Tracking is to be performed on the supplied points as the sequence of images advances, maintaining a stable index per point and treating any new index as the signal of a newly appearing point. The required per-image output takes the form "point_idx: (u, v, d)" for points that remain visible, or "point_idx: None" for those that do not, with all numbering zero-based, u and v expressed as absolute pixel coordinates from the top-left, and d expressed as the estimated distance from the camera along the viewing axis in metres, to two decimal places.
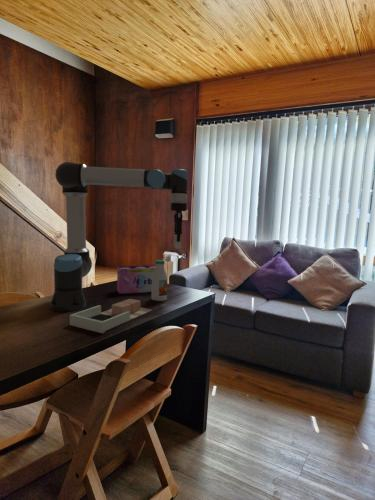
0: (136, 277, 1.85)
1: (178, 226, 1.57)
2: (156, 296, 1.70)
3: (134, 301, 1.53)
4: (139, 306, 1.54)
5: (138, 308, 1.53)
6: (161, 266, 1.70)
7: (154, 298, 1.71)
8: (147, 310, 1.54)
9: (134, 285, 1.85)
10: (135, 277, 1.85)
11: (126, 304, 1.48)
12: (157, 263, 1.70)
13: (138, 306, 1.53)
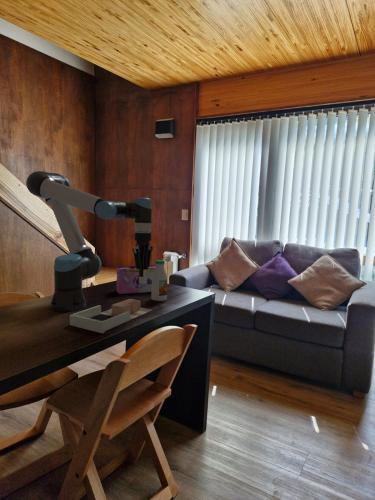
0: (136, 277, 1.85)
1: None
2: (156, 296, 1.70)
3: (134, 301, 1.53)
4: (139, 306, 1.54)
5: (138, 308, 1.53)
6: (161, 266, 1.70)
7: (154, 298, 1.71)
8: (147, 310, 1.54)
9: (134, 285, 1.85)
10: (135, 278, 1.85)
11: (126, 304, 1.48)
12: (157, 263, 1.70)
13: (138, 306, 1.53)
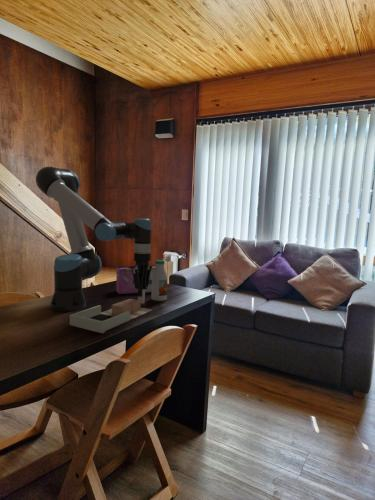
0: None
1: None
2: (156, 296, 1.70)
3: (134, 301, 1.53)
4: (139, 306, 1.54)
5: (138, 308, 1.53)
6: (161, 266, 1.70)
7: (154, 298, 1.71)
8: (147, 310, 1.54)
9: (133, 285, 1.85)
10: None
11: (126, 304, 1.48)
12: (157, 263, 1.70)
13: (138, 306, 1.53)
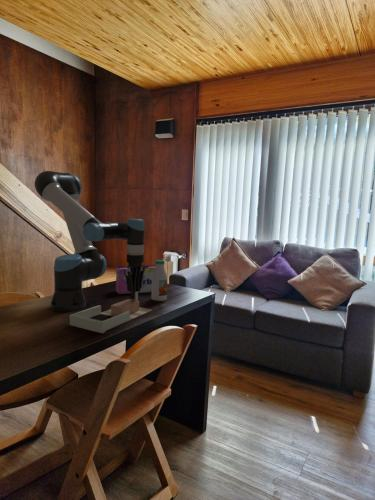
0: None
1: None
2: (156, 296, 1.70)
3: (133, 302, 1.52)
4: (138, 307, 1.53)
5: (137, 309, 1.53)
6: (161, 266, 1.70)
7: (154, 298, 1.71)
8: (147, 310, 1.54)
9: None
10: None
11: (125, 304, 1.47)
12: (157, 263, 1.70)
13: (137, 307, 1.52)
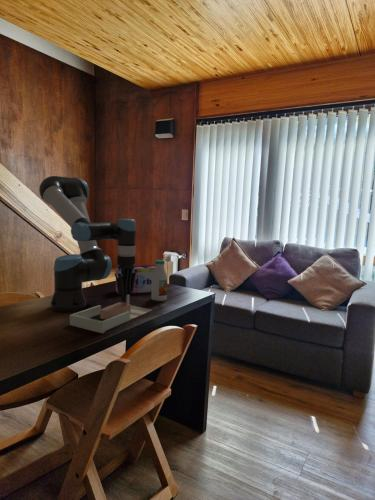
0: (135, 277, 1.85)
1: None
2: (156, 296, 1.70)
3: (124, 305, 1.46)
4: (129, 310, 1.47)
5: None
6: (161, 266, 1.70)
7: (154, 298, 1.71)
8: (147, 310, 1.54)
9: None
10: None
11: (115, 308, 1.41)
12: (157, 263, 1.70)
13: (128, 310, 1.47)
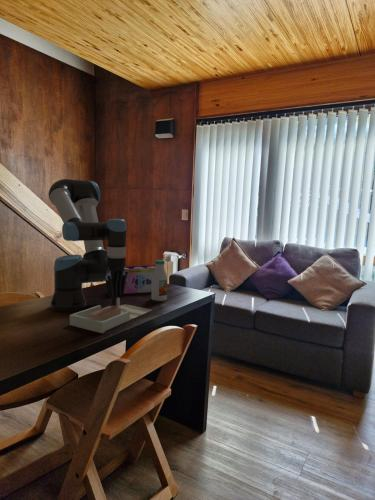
0: (135, 277, 1.84)
1: None
2: (156, 296, 1.70)
3: (113, 309, 1.40)
4: None
5: None
6: (161, 266, 1.70)
7: (154, 298, 1.71)
8: (147, 310, 1.54)
9: (133, 286, 1.85)
10: (133, 278, 1.84)
11: (105, 312, 1.36)
12: (157, 263, 1.70)
13: (118, 314, 1.41)
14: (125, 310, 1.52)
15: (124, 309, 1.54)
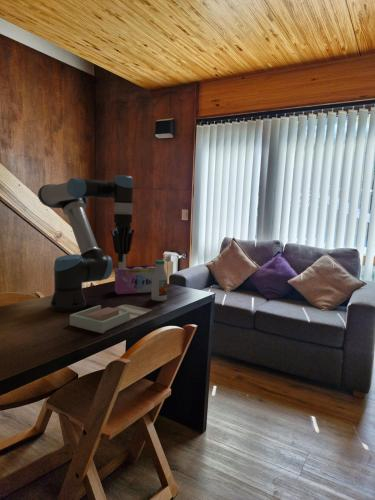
0: (134, 277, 1.84)
1: None
2: (156, 296, 1.70)
3: (112, 310, 1.39)
4: None
5: None
6: (161, 266, 1.70)
7: (154, 298, 1.71)
8: (147, 310, 1.54)
9: (132, 286, 1.84)
10: (133, 278, 1.84)
11: (103, 313, 1.35)
12: (157, 263, 1.70)
13: (116, 315, 1.40)
14: (125, 310, 1.52)
15: (124, 309, 1.54)
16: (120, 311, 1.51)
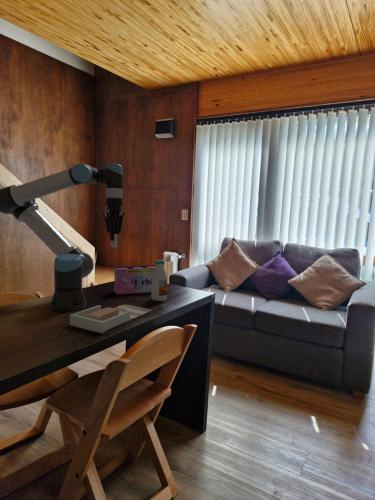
0: (134, 277, 1.84)
1: None
2: (156, 296, 1.70)
3: (112, 310, 1.39)
4: None
5: None
6: (161, 266, 1.70)
7: (154, 298, 1.71)
8: (147, 310, 1.54)
9: (132, 286, 1.84)
10: (133, 278, 1.84)
11: (103, 313, 1.35)
12: (157, 263, 1.70)
13: (116, 315, 1.40)
14: (125, 310, 1.52)
15: (124, 309, 1.54)
16: (120, 311, 1.51)
